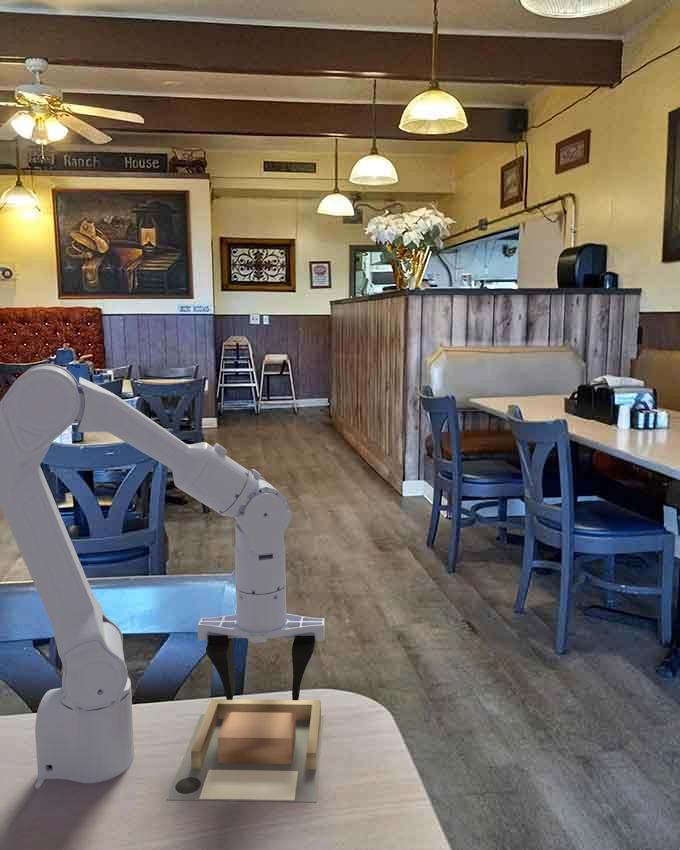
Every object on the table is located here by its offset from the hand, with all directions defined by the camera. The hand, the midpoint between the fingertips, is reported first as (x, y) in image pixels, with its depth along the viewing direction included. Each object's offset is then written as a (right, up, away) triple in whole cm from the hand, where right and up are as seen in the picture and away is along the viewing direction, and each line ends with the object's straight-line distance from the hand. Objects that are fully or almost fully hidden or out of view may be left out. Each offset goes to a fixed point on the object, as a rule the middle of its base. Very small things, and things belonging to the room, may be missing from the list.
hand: (263, 695), depth 82 cm
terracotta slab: (0, -5, -4) cm, 6 cm away
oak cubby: (0, -4, -2) cm, 5 cm away
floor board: (-1, -5, -4) cm, 7 cm away
